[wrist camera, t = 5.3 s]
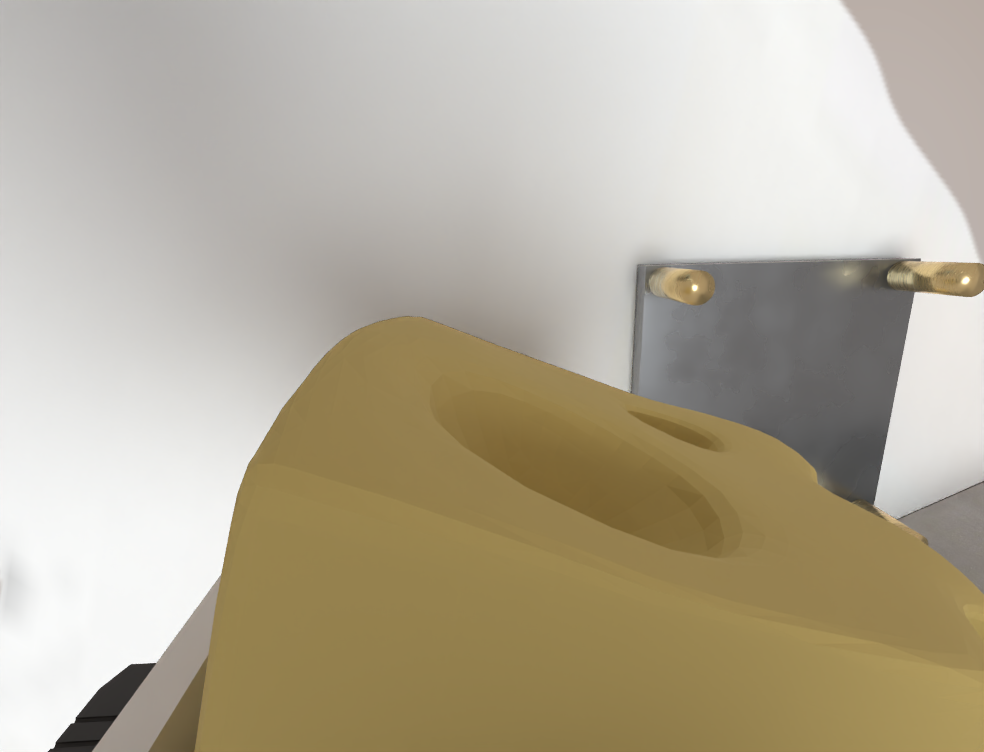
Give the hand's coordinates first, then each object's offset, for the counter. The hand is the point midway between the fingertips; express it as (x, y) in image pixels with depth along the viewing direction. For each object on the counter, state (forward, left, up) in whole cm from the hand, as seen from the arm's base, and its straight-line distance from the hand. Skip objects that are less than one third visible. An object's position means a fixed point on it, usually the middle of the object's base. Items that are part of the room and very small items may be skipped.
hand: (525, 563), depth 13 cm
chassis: (+1, +16, -17) cm, 23 cm away
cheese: (0, 0, -2) cm, 2 cm away
